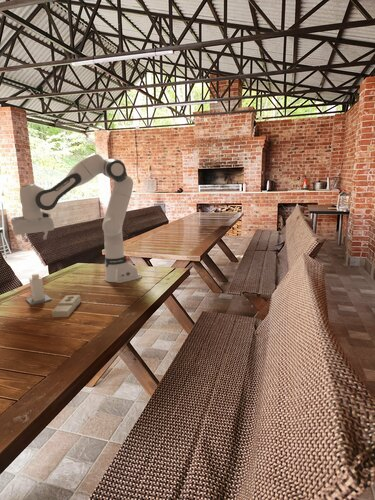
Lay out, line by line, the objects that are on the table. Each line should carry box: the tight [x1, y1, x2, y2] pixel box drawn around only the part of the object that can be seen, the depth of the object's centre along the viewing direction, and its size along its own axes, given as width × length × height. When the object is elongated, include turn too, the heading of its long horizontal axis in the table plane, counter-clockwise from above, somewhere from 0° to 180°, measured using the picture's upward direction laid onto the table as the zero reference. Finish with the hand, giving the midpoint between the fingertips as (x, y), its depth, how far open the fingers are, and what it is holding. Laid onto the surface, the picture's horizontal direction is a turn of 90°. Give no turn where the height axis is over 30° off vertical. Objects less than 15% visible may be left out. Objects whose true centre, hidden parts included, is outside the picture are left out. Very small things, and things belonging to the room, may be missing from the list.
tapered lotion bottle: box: [28, 273, 46, 301], centre depth 161 cm, size 5×5×13 cm
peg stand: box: [25, 293, 53, 307], centre depth 162 cm, size 10×10×8 cm
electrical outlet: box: [51, 294, 82, 318], centre depth 151 cm, size 7×4×18 cm
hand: (35, 240), depth 171 cm, fingers open, 8 cm apart
